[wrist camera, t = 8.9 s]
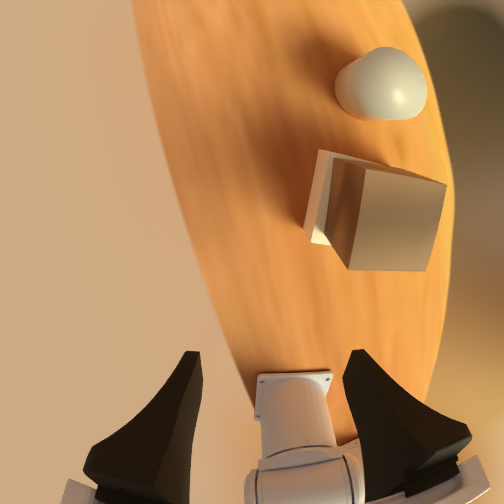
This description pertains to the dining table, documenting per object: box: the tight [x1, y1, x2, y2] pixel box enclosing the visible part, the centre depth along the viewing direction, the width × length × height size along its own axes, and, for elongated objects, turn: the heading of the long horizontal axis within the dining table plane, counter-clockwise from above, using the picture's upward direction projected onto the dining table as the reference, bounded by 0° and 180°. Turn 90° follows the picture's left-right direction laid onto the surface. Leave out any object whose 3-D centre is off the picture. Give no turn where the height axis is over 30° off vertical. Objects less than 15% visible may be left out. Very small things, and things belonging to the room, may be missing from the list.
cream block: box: [303, 149, 385, 245], centre depth 18 cm, size 6×6×3 cm
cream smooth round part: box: [334, 47, 427, 121], centre depth 14 cm, size 4×4×5 cm
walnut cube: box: [324, 158, 447, 272], centre depth 15 cm, size 5×5×5 cm
